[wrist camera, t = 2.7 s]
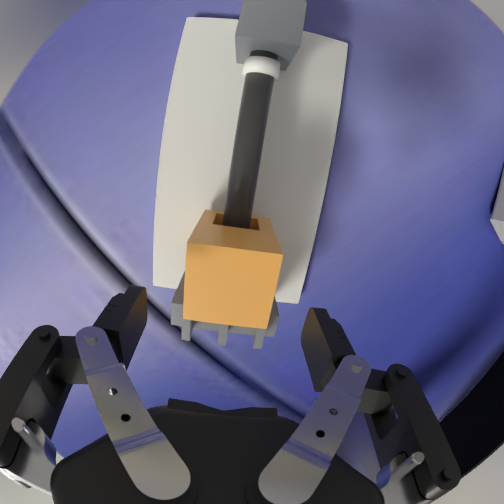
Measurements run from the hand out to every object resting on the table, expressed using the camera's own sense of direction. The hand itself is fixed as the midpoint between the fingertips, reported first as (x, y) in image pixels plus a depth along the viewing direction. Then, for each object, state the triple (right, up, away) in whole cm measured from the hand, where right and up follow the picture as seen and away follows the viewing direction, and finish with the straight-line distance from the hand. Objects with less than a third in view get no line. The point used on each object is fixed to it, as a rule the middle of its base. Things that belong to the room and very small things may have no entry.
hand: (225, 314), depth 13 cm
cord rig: (+1, +11, +9) cm, 14 cm away
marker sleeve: (0, +4, +10) cm, 11 cm away
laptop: (+54, -32, +28) cm, 68 cm away
